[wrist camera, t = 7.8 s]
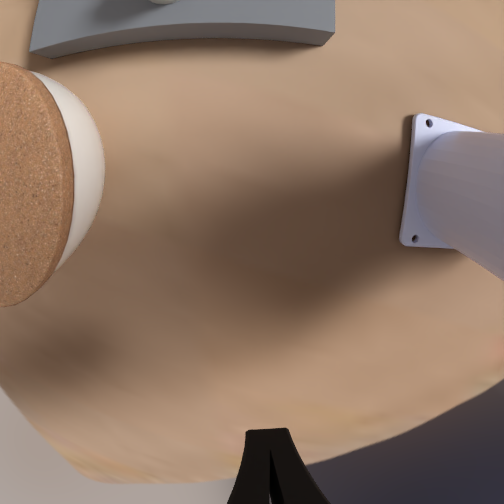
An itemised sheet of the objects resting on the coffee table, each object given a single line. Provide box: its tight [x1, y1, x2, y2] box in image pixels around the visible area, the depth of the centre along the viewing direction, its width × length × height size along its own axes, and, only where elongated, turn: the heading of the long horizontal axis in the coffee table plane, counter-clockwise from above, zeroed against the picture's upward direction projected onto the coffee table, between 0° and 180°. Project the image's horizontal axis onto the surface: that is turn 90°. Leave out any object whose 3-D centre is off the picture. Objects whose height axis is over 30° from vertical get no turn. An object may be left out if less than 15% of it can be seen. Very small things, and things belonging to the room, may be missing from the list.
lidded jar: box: [0, 62, 105, 307], centre depth 12 cm, size 11×11×9 cm
